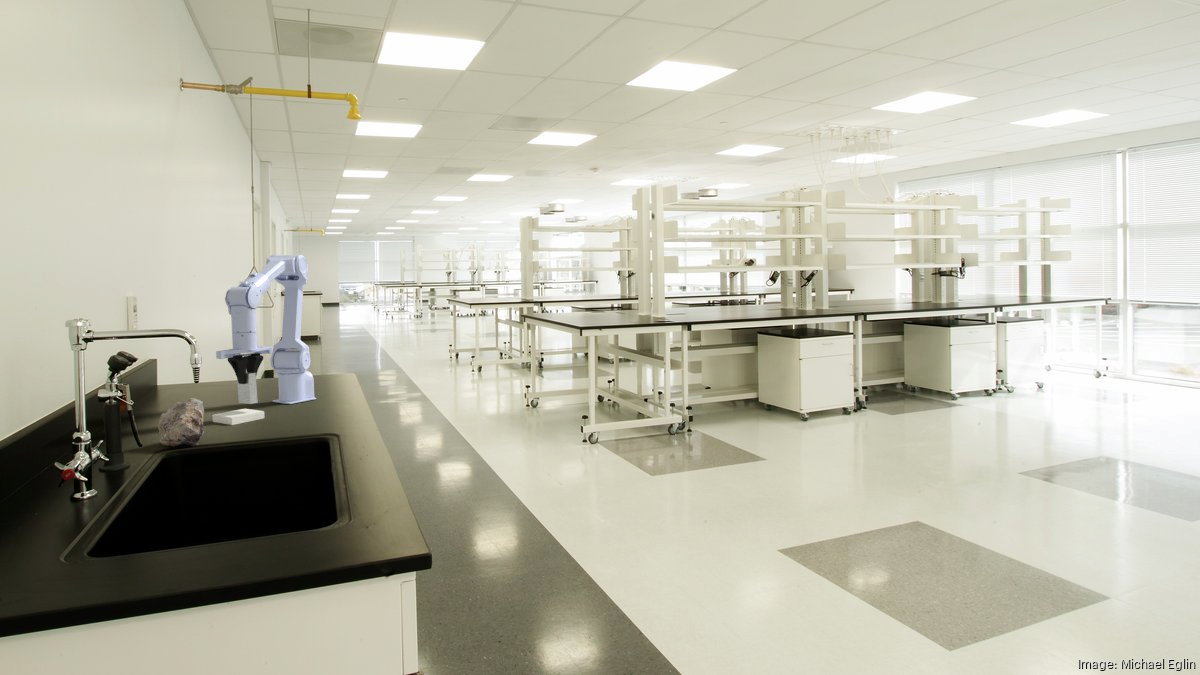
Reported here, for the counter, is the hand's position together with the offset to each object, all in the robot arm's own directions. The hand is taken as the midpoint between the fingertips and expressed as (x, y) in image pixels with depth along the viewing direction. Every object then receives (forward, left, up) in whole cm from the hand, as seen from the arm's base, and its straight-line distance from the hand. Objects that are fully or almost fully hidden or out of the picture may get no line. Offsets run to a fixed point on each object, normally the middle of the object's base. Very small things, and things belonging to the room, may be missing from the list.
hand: (246, 383), depth 172 cm
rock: (+24, +12, -10) cm, 29 cm away
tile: (-2, 0, -9) cm, 9 cm away
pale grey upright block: (0, 0, -5) cm, 5 cm away
